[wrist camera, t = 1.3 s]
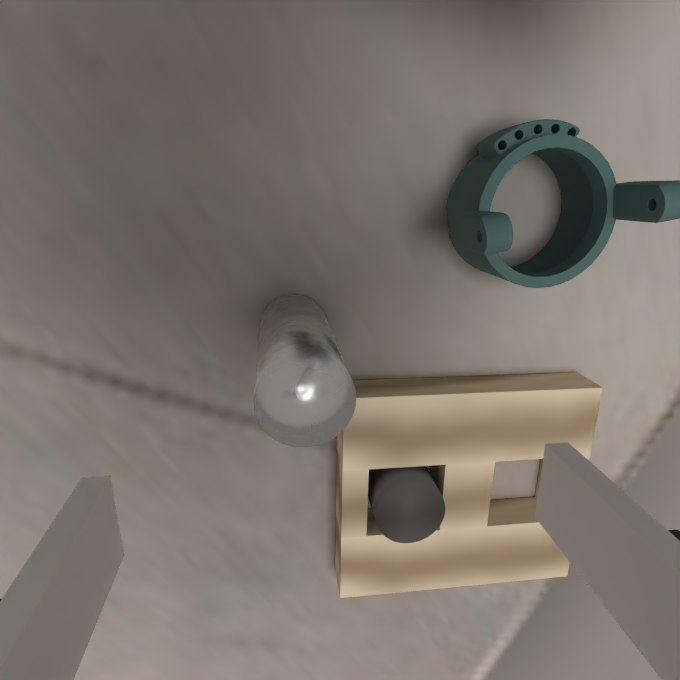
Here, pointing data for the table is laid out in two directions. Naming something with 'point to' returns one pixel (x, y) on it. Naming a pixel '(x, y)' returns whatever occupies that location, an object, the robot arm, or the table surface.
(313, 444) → the metal cylinder
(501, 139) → the bracket
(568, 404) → the jig
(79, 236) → the table surface
